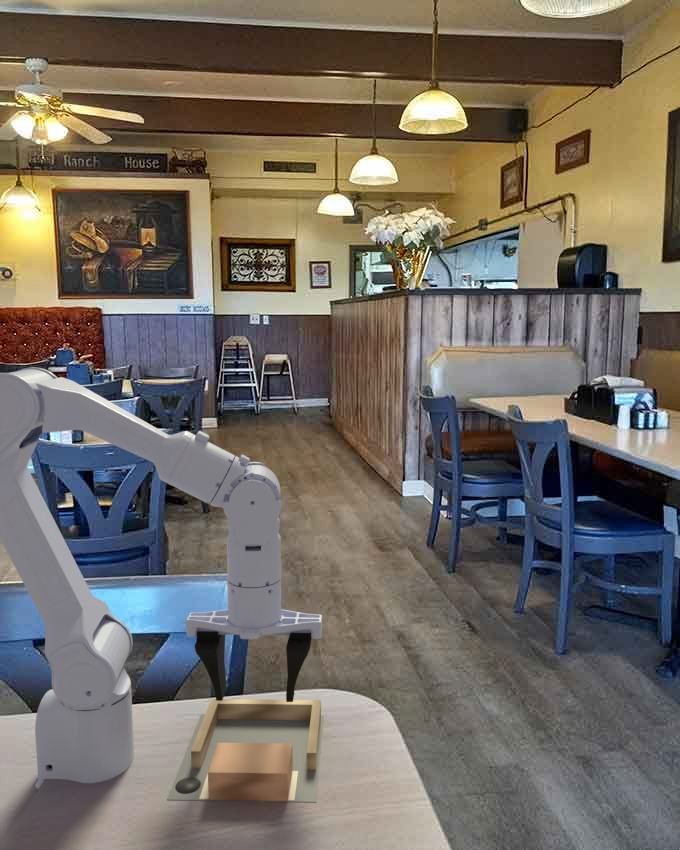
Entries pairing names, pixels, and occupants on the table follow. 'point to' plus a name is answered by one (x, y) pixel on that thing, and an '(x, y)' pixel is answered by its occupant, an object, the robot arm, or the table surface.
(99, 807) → the table surface
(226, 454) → the robot arm
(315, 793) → the floor board
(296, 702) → the oak cubby
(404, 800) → the table surface
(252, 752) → the terracotta slab
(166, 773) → the table surface
